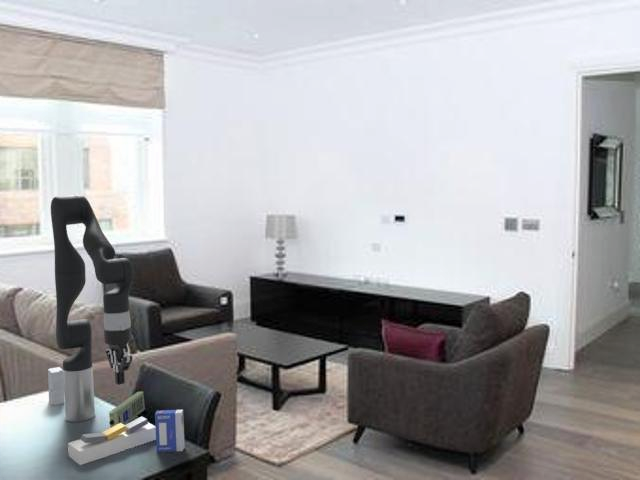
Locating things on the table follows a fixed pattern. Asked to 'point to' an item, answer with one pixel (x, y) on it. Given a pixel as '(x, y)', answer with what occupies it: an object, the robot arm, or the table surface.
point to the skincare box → (56, 386)
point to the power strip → (110, 445)
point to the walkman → (169, 430)
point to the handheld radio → (127, 410)
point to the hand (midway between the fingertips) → (120, 383)
